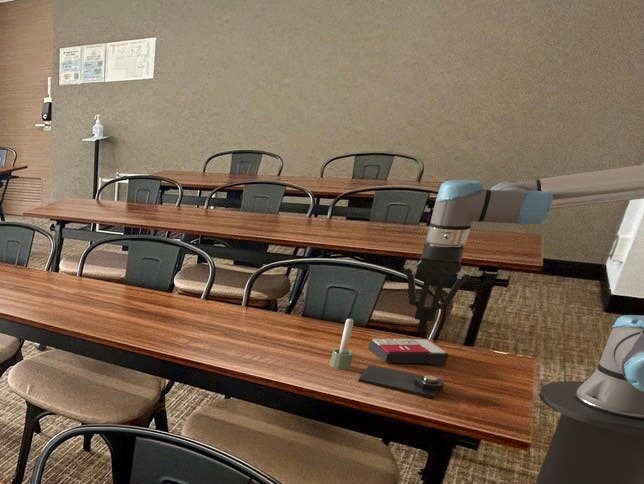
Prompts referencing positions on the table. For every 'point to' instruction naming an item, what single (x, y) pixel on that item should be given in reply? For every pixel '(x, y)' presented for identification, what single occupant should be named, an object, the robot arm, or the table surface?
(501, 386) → the table surface
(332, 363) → the pen cup
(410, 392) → the tablet
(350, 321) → the stylus
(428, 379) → the button
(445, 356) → the calculator
